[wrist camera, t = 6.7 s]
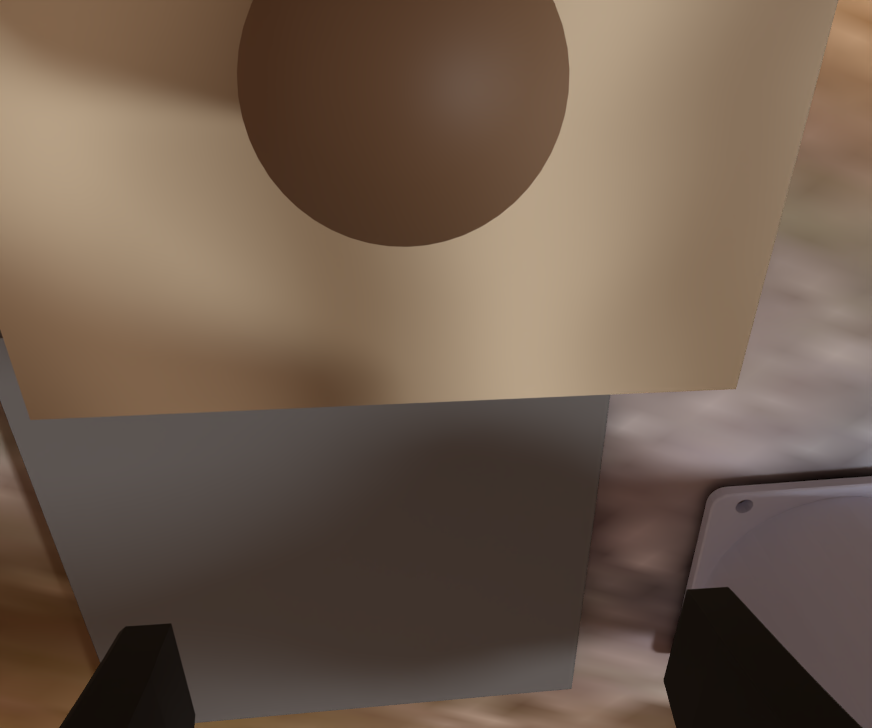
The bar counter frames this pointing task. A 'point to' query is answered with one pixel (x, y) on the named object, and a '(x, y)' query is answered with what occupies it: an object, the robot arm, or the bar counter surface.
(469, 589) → the tray
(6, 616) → the bar counter surface
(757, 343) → the bar counter surface
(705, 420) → the bar counter surface
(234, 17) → the lid
